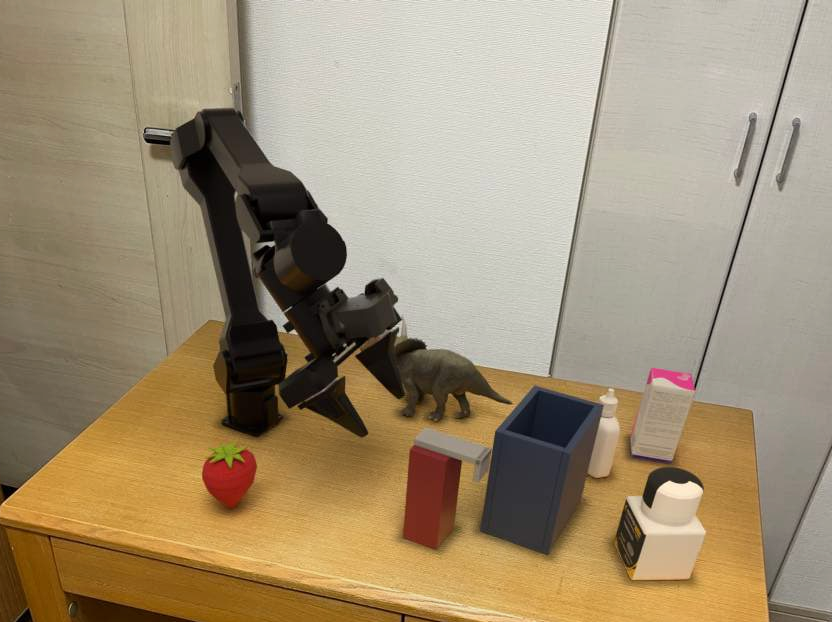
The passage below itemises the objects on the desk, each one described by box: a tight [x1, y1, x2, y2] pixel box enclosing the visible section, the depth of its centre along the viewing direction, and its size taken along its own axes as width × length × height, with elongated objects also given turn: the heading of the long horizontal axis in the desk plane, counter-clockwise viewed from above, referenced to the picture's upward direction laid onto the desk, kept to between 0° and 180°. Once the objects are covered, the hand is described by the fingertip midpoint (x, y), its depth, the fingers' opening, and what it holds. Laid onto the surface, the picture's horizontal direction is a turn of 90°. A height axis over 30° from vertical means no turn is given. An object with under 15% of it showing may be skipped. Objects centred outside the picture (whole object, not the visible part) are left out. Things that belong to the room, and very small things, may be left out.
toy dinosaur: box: [390, 315, 514, 422], centre depth 117 cm, size 22×8×11 cm, turn 58°
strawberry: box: [201, 439, 258, 509], centre depth 96 cm, size 6×8×10 cm
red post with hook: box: [402, 427, 493, 551], centre depth 92 cm, size 8×5×13 cm, turn 63°
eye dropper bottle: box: [587, 388, 621, 479], centre depth 107 cm, size 4×6×12 cm
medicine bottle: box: [613, 466, 707, 581], centre depth 92 cm, size 7×7×12 cm
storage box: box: [479, 384, 604, 556], centre depth 97 cm, size 9×13×14 cm
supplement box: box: [629, 367, 696, 464], centre depth 111 cm, size 6×6×12 cm
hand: (384, 416), depth 92 cm, fingers open, 9 cm apart
